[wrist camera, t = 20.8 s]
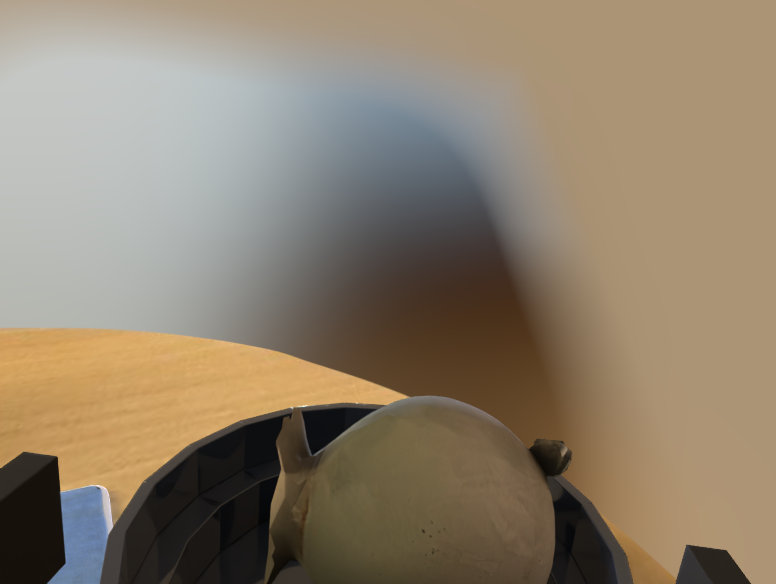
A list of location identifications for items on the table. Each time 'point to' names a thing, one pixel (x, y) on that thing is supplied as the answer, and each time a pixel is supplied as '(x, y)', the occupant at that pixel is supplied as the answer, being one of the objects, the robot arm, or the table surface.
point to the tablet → (84, 534)
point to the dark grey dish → (253, 505)
